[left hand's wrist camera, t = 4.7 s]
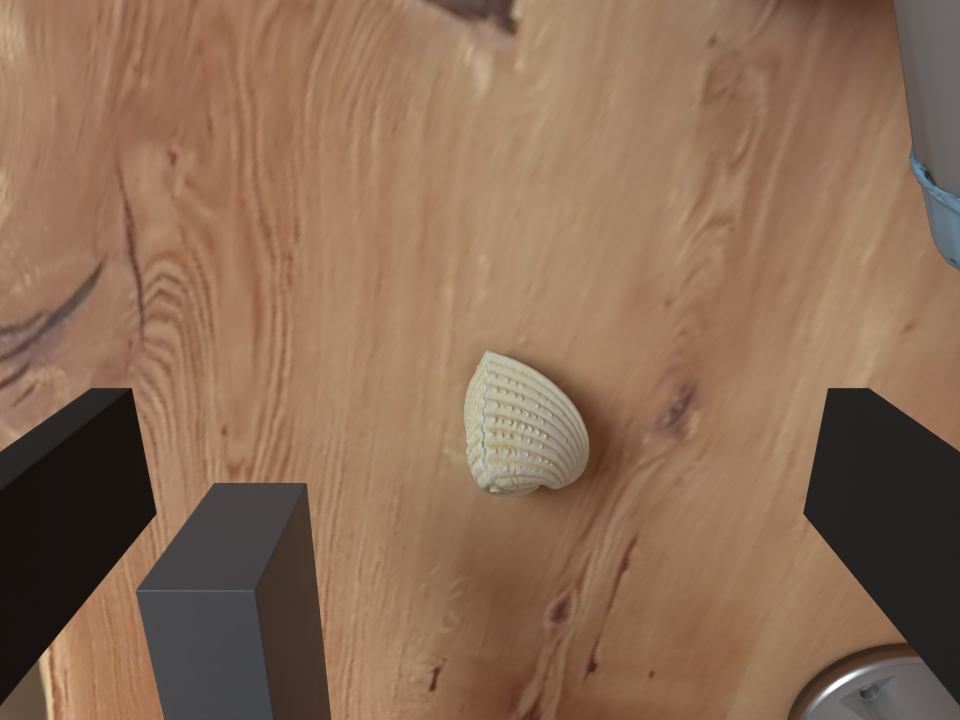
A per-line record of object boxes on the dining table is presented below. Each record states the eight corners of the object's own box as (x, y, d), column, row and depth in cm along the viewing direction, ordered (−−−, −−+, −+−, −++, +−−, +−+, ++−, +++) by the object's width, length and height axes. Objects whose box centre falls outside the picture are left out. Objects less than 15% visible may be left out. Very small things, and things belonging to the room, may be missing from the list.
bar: (214, 482, 33) (134, 590, 25) (307, 482, 33) (255, 590, 25) (264, 800, 40) (215, 955, 33) (339, 800, 40) (308, 955, 33)
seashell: (487, 527, 44) (418, 484, 38) (497, 413, 48) (436, 360, 43) (603, 516, 40) (545, 467, 34) (602, 394, 44) (551, 332, 39)
